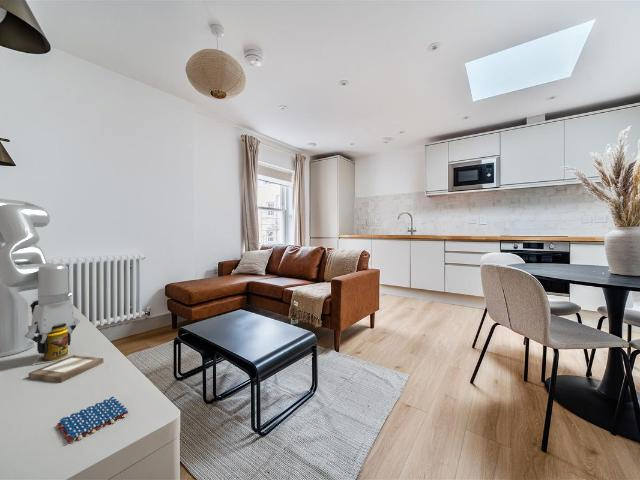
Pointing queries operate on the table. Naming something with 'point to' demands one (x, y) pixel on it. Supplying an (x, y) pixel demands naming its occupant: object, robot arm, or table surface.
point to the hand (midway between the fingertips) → (54, 348)
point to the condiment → (56, 345)
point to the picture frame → (65, 368)
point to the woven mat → (91, 419)
